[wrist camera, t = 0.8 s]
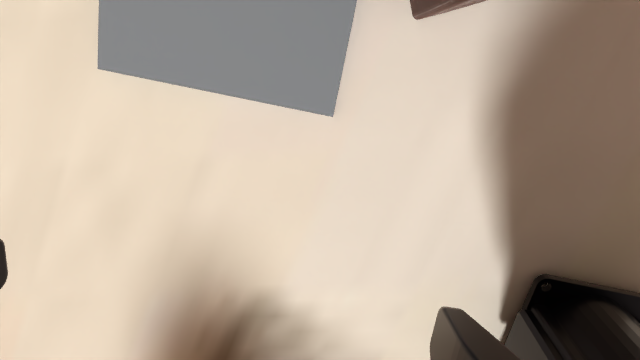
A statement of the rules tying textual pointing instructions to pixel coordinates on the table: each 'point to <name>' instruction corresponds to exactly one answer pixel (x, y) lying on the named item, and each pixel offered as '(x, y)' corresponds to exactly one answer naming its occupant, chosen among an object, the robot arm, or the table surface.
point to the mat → (232, 47)
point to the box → (437, 6)
